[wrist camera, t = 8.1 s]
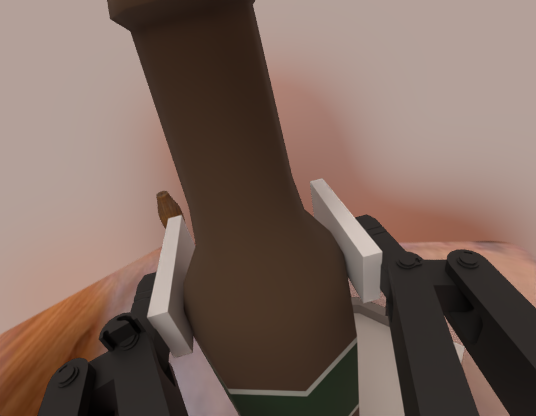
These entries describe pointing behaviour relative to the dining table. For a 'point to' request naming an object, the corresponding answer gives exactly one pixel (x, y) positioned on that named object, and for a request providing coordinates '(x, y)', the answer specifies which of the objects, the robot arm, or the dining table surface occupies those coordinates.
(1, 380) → the dining table surface
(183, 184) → the beer bottle
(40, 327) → the dining table surface
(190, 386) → the dining table surface
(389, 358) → the ring plate
